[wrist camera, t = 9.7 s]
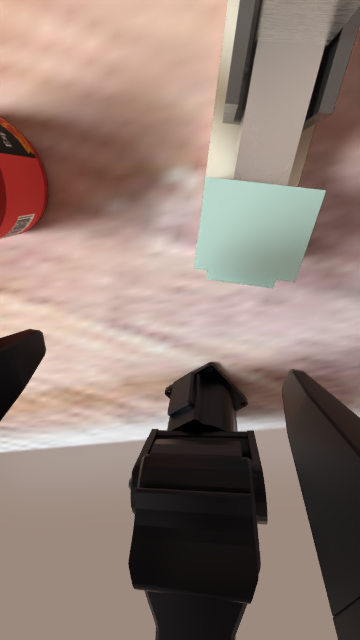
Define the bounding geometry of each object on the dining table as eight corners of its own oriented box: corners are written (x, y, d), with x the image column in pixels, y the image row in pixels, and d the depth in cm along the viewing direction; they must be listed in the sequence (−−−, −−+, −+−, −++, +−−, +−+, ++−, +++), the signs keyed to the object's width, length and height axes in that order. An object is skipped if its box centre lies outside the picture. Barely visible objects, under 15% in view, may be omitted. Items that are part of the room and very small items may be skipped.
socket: (208, 178, 17) (205, 176, 12) (293, 188, 16) (326, 190, 12) (197, 258, 19) (192, 282, 14) (271, 267, 19) (290, 295, 14)
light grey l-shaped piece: (263, -24, 12) (485, -966, 2) (330, -20, 11) (899, -1022, 2) (218, 242, 17) (222, 312, 8) (261, 248, 17) (319, 326, 8)
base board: (253, -186, 11) (256, -219, 10) (397, -183, 10) (414, -216, 10) (195, 257, 20) (194, 260, 19) (270, 266, 20) (273, 270, 19)
